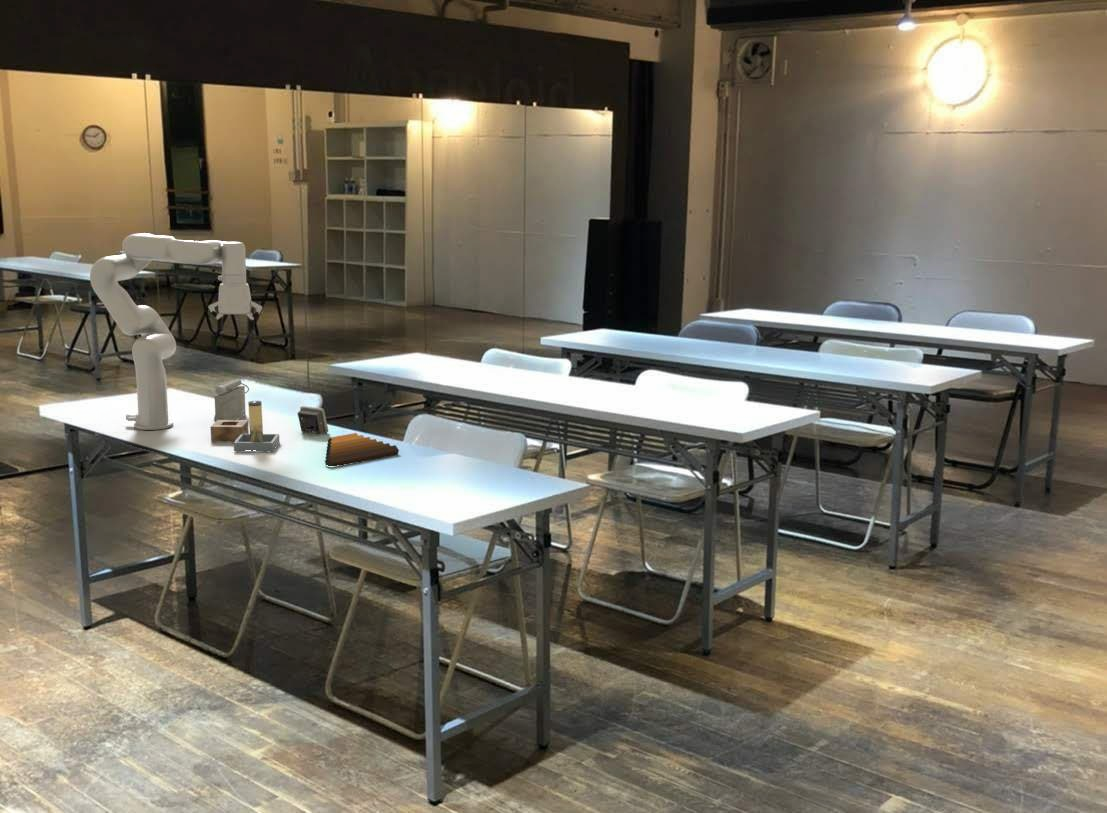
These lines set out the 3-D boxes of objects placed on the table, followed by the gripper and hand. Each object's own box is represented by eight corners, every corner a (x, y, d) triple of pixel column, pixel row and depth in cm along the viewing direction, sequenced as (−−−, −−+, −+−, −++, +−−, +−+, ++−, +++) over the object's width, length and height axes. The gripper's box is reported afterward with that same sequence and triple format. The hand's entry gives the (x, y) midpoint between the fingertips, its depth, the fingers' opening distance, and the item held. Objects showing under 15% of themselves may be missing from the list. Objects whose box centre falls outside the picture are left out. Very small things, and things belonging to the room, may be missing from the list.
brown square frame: (211, 441, 336) (210, 426, 335) (218, 434, 346) (217, 419, 345) (242, 441, 337) (242, 426, 336) (248, 434, 347) (248, 420, 346)
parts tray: (233, 451, 325) (233, 442, 324) (241, 442, 336) (241, 433, 336) (272, 452, 326) (272, 442, 325) (279, 442, 337) (279, 433, 337)
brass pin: (249, 446, 329) (247, 403, 326) (251, 443, 333) (249, 400, 330) (262, 446, 329) (260, 403, 326) (264, 443, 333) (262, 400, 330)
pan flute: (331, 470, 309) (398, 456, 327) (331, 459, 309) (398, 446, 326) (287, 453, 327) (353, 441, 344) (286, 443, 326) (353, 431, 343)
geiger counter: (233, 376, 374) (204, 389, 350) (250, 377, 374) (222, 390, 350) (235, 414, 377) (206, 429, 353) (252, 414, 377) (224, 430, 352)
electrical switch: (329, 433, 353) (327, 407, 350) (320, 437, 348) (317, 411, 345) (306, 430, 356) (304, 404, 354) (297, 434, 352) (294, 408, 349)
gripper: (204, 280, 337) (206, 332, 340) (258, 281, 338) (260, 333, 342) (210, 278, 344) (212, 329, 347) (263, 279, 345) (264, 330, 349)
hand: (236, 331), depth 345 cm, fingers open, 9 cm apart
